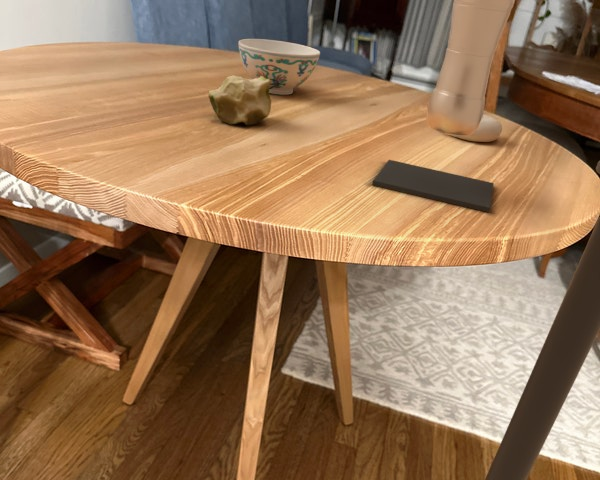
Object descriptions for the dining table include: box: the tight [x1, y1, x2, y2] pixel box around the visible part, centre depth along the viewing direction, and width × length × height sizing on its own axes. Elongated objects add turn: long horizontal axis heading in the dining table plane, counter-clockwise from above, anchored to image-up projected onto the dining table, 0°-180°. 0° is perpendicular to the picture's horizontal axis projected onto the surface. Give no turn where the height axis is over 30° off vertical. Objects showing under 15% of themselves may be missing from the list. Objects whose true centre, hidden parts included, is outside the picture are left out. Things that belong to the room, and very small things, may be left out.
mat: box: [371, 159, 495, 213], centre depth 71 cm, size 14×10×1 cm
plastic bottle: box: [426, 0, 516, 136], centre depth 62 cm, size 6×7×20 cm
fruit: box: [208, 74, 279, 126], centre depth 84 cm, size 9×9×8 cm
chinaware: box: [237, 38, 321, 96], centre depth 105 cm, size 15×15×8 cm
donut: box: [451, 113, 503, 143], centre depth 95 cm, size 10×4×10 cm
